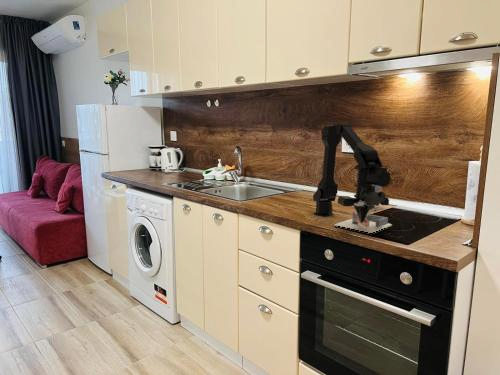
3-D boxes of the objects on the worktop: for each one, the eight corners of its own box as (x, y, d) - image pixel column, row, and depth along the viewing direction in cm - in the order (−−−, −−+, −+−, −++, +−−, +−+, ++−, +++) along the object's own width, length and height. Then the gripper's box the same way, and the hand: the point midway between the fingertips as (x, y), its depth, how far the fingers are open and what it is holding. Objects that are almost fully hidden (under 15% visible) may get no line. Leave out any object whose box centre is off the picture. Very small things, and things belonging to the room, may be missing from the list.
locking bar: (351, 222, 150) (351, 212, 149) (356, 222, 151) (357, 211, 150) (364, 230, 139) (365, 219, 138) (370, 230, 139) (371, 219, 138)
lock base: (334, 225, 148) (334, 218, 147) (355, 218, 159) (356, 211, 159) (371, 234, 136) (372, 226, 136) (391, 225, 148) (392, 218, 148)
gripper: (352, 186, 128) (349, 229, 131) (400, 185, 132) (395, 227, 135) (338, 181, 139) (335, 221, 141) (382, 180, 143) (378, 219, 146)
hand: (361, 222), depth 140 cm, fingers closed
